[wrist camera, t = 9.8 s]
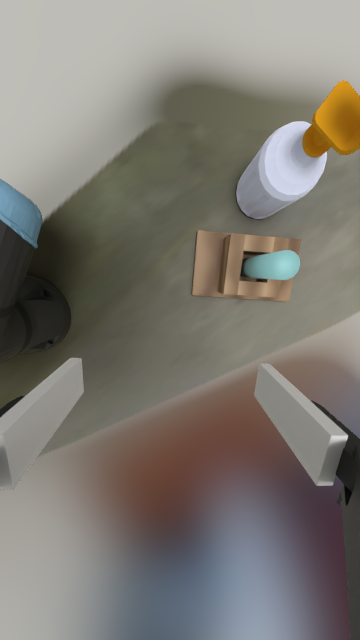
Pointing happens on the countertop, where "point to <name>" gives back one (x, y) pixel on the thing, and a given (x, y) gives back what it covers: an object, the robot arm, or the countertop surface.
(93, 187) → the countertop surface
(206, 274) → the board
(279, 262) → the peg
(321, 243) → the countertop surface
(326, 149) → the soap bottle
